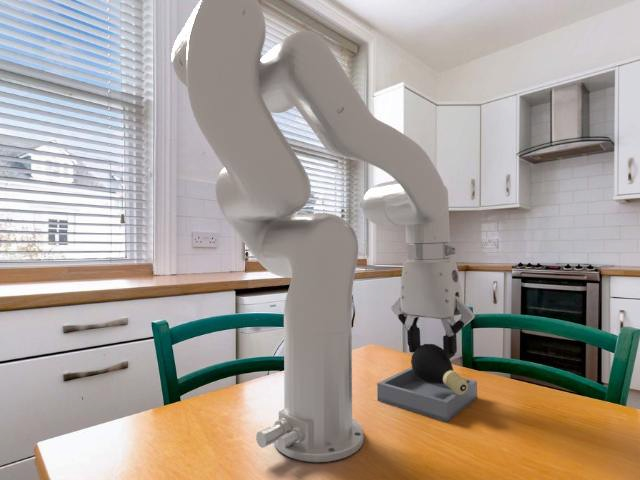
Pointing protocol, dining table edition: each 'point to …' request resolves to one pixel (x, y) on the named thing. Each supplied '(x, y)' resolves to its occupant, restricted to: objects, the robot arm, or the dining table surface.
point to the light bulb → (436, 368)
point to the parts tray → (424, 395)
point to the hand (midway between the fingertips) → (431, 352)
